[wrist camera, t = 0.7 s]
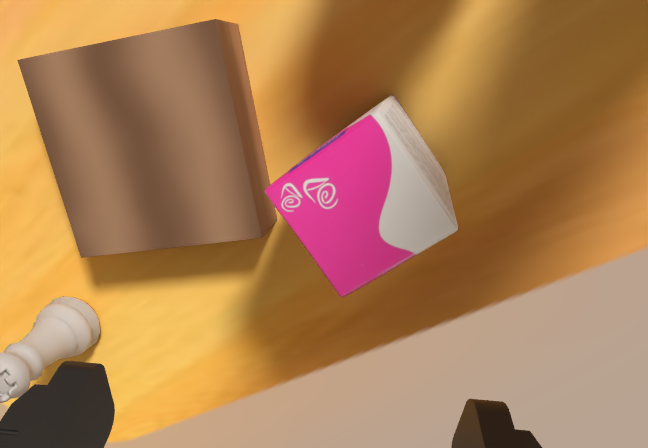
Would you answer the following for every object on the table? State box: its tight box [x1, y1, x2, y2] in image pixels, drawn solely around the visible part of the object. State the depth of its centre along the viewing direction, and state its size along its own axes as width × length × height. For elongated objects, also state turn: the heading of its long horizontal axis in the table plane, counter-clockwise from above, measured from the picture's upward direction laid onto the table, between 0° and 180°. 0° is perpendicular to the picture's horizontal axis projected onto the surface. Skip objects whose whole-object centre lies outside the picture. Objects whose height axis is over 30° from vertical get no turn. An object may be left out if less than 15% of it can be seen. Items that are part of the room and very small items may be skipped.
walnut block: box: [18, 19, 277, 258], centre depth 30 cm, size 12×12×4 cm
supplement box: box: [265, 95, 458, 297], centre depth 25 cm, size 6×6×12 cm
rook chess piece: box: [0, 296, 100, 403], centre depth 34 cm, size 4×4×8 cm
